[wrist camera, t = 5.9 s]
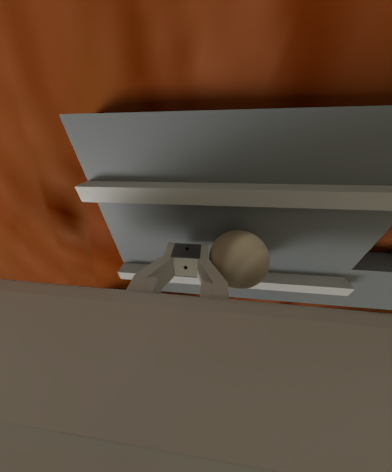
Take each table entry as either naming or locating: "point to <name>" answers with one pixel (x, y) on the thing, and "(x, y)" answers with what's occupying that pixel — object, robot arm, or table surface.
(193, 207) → the hole board
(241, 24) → the table surface
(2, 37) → the table surface
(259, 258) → the ball
